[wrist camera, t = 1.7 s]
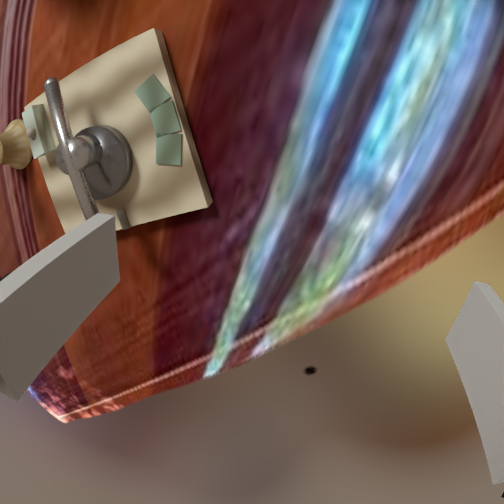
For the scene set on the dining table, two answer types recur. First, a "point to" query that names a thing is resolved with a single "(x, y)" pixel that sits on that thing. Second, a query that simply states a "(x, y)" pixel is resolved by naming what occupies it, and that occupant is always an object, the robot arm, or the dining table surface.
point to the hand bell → (15, 146)
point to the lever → (89, 155)
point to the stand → (126, 134)
